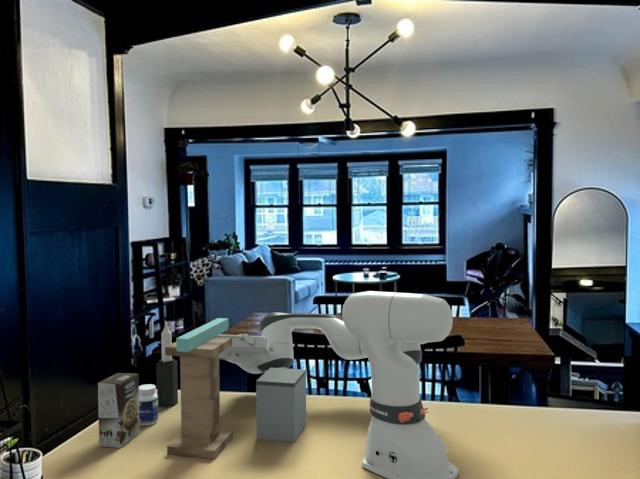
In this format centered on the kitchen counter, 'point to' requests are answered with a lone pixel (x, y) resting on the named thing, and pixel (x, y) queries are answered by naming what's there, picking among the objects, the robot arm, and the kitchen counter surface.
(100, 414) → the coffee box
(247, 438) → the kitchen counter surface
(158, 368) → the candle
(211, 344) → the walnut stand
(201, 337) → the teal bar
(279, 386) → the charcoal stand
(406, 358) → the robot arm
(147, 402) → the pill bottle
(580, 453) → the kitchen counter surface
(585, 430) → the kitchen counter surface
